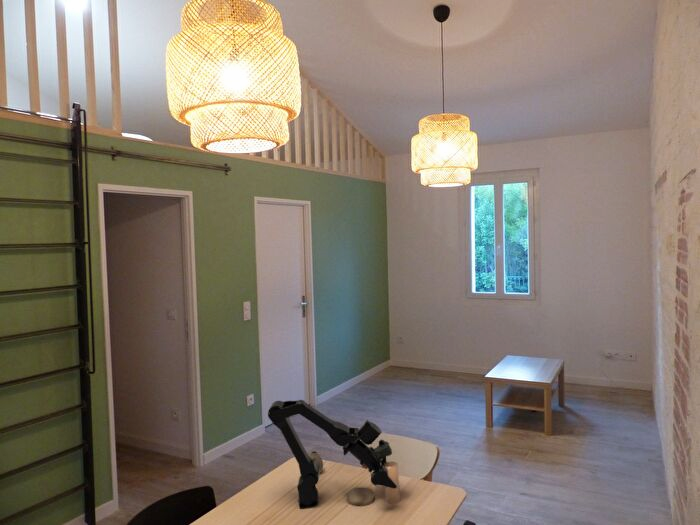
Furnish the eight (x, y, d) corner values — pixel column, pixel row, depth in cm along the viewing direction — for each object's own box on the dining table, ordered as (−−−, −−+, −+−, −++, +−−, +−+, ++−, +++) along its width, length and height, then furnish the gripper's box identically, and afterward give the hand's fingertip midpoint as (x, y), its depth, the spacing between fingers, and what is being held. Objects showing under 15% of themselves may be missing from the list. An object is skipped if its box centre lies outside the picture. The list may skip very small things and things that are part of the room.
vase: (316, 478, 209) (314, 456, 209) (303, 474, 213) (302, 453, 213) (327, 471, 215) (325, 450, 214) (314, 467, 219) (313, 447, 218)
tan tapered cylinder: (387, 504, 185) (385, 468, 185) (383, 497, 190) (381, 462, 190) (401, 502, 186) (399, 466, 186) (397, 495, 192) (395, 460, 191)
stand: (349, 508, 184) (349, 502, 184) (344, 495, 194) (344, 489, 194) (377, 503, 186) (376, 498, 186) (370, 490, 196) (370, 485, 196)
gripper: (378, 447, 178) (412, 477, 178) (377, 427, 197) (408, 454, 197) (357, 470, 179) (391, 500, 179) (357, 448, 197) (388, 475, 198)
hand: (395, 481), depth 188 cm, fingers open, 9 cm apart
